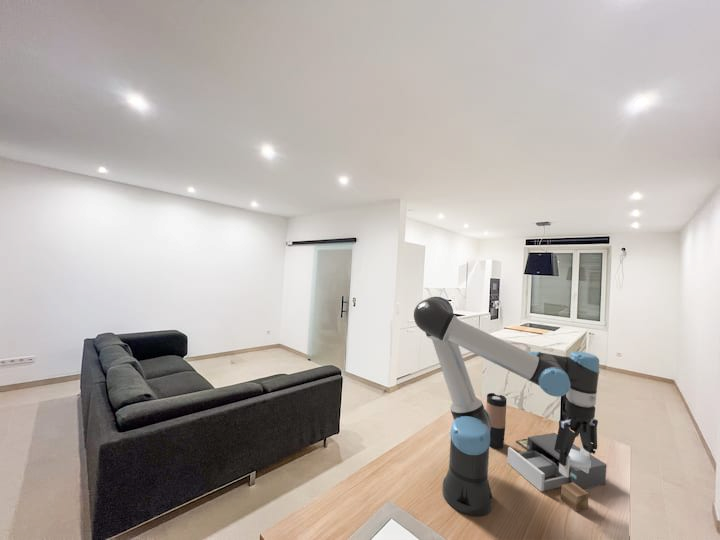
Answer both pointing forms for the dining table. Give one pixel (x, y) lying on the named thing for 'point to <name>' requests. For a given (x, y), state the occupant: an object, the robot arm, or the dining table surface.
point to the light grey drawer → (536, 469)
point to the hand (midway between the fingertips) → (573, 472)
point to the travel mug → (496, 419)
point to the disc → (579, 460)
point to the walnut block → (574, 496)
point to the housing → (577, 476)
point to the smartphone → (549, 456)
